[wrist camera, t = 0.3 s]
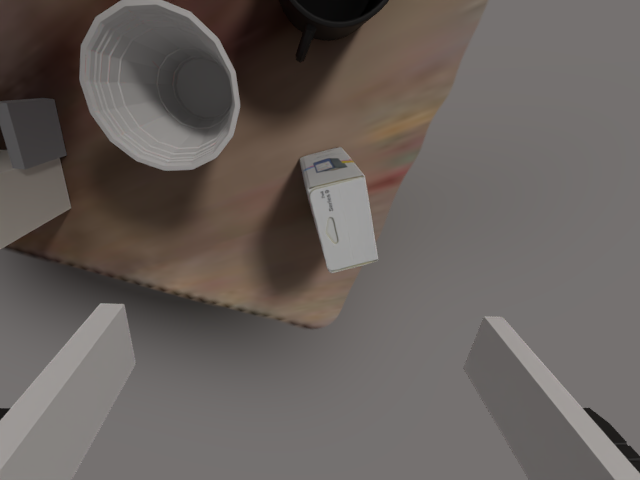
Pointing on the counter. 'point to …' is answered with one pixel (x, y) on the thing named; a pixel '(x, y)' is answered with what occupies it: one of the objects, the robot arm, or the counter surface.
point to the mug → (328, 18)
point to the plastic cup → (159, 84)
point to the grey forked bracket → (30, 167)
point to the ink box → (339, 209)
